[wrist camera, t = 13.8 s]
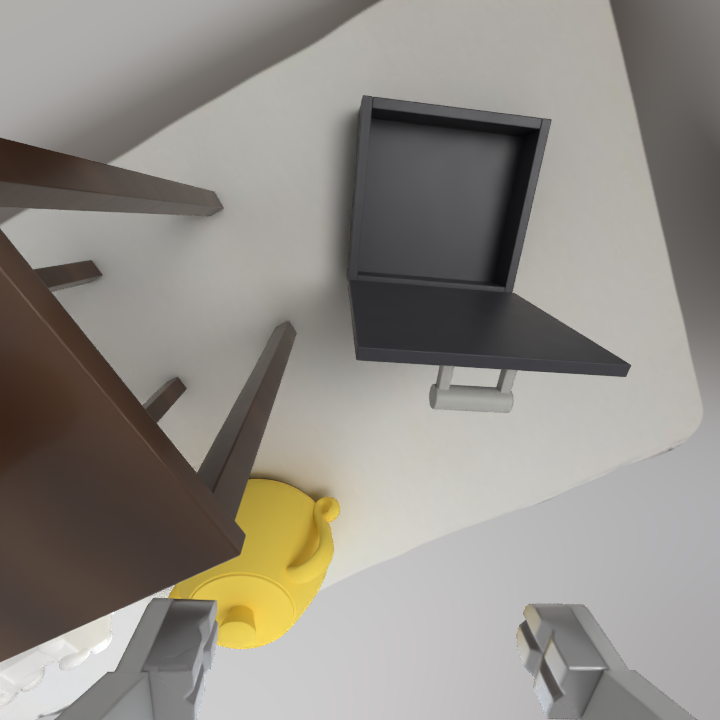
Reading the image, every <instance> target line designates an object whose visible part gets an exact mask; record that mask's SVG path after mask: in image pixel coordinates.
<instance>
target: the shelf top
mask: <svg viewBox="0 0 720 720" xmlns="http://www.w3.org/2000/svg"><path fill="white" fill-rule="evenodd" d="M245 537H246V535H245V533H244V532H243V530H242V529H241V528H240V527H239V525H238V524H237V523H236V522H235V520H234V519H233V518H232V517H231V515H230V514H229V513H228V512H227V510H226V509H225V508H224V507H223V505H222V504H221V503H220V502H219V500H218V499H217V498H216V497H215V495H214V494H213V493H212V492H211V490H210V489H209V488H208V487H207V485H206V484H205V483H204V482H203V481H202V479H201V478H200V477H199V476H198V474H197V473H196V472H195V471H194V469H193V468H192V467H191V466H190V464H189V463H188V462H187V461H186V459H185V458H184V457H183V456H182V454H181V453H180V452H179V451H178V449H177V448H176V447H175V446H174V444H173V443H172V442H171V441H170V439H169V438H168V437H167V436H166V434H165V433H164V432H163V431H162V429H161V428H160V427H159V426H158V424H157V423H156V422H155V421H154V420H153V418H152V417H151V416H150V415H149V413H148V412H147V411H146V410H145V408H144V407H143V406H142V405H141V403H140V402H139V401H138V400H137V398H136V397H135V396H134V395H133V393H132V392H131V391H130V390H129V388H128V387H127V386H126V385H125V383H124V382H123V381H122V380H121V378H120V377H119V376H118V375H117V373H116V372H115V371H114V370H113V368H112V367H111V366H110V365H109V363H108V362H107V361H106V360H105V359H104V357H103V356H102V355H101V354H100V352H99V351H98V350H97V349H96V347H95V346H94V345H93V344H92V342H91V341H90V340H89V339H88V337H87V336H86V335H85V334H84V332H83V331H82V330H81V329H80V327H79V326H78V325H77V324H76V322H75V321H74V320H73V319H72V317H71V316H70V315H69V314H68V312H67V311H66V310H65V309H64V307H63V306H62V305H61V304H60V302H59V301H58V300H57V299H56V298H55V296H54V295H53V294H52V293H51V291H50V290H49V289H48V288H47V286H46V285H45V284H44V283H43V281H42V280H41V279H40V278H39V276H38V275H37V274H36V273H35V271H34V270H33V269H32V268H31V266H30V265H29V264H28V263H27V261H26V260H25V259H24V258H23V256H22V255H21V254H20V253H19V251H18V250H17V249H16V248H15V246H14V245H13V244H12V243H11V241H10V240H9V239H8V238H7V236H6V235H5V234H4V233H3V232H2V230H1V229H0V662H2V661H5V660H7V659H9V658H11V657H14V656H16V655H18V654H20V653H23V652H25V651H27V650H29V649H32V648H34V647H36V646H38V645H41V644H43V643H45V642H47V641H50V640H52V639H54V638H56V637H59V636H61V635H63V634H65V633H68V632H70V631H72V630H74V629H77V628H79V627H81V626H83V625H86V624H88V623H90V622H92V621H94V620H97V619H99V618H101V617H103V616H106V615H108V614H110V613H112V612H115V611H117V610H119V609H121V608H124V607H126V606H128V605H130V604H133V603H135V602H137V601H139V600H142V599H144V598H146V597H148V596H151V595H153V594H155V593H157V592H160V591H162V590H164V589H166V588H169V587H171V586H173V585H175V584H178V583H180V582H182V581H184V580H186V579H189V578H191V577H193V576H195V575H198V574H200V573H202V572H204V571H207V570H209V569H211V568H213V567H216V566H218V565H220V564H222V563H225V562H227V561H229V560H231V559H234V558H236V557H238V556H240V554H241V551H242V548H243V544H244V541H245Z"/></svg>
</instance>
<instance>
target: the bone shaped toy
mask: <svg viewBox="0 0 720 720" xmlns="http://www.w3.org/2000/svg"><path fill="white" fill-rule="evenodd" d="M113 614H114V612H112V613H110V614H108V615H106V616H103V617H101V618H99V619H97V620H94V621H92V622H90V623H88V624H86V625H83V626H81V627H79V628H77V629H74V630H72V631H70V632H68V633H65V634H63V635H61V636H59V637H56V638H54V639H52V640H50V641H47V642H45V643H43V644H41V645H38V646H36V647H34V648H32V649H29V650H27V651H25V652H23V653H20V654H18V655H16V656H14V657H11V658H9V659H7V660H5V661H2V662H0V708H2V707H4V706H6V705H7V704H9V703H10V702H11V701H12V700H13V699H14V698H15V697H16V696H17V694H18V692H19V691H20V690H21V691H24V692H26V691H30V690H32V689H34V688H35V687H37V686H38V685H39V684H40V682H41V681H42V679H43V677H44V673H45V670H44V667H45V666H47V665H49V664H50V663H52V662H54V661H58V662H59V663H60V664H59V667H60V669H61V670H70V669H72V668H75V667H76V666H78V665H79V664H81V663H82V662H83V661H84V660H85V659H86V658H87V657H88V655H89V652H90V653H92V654H95V653H98V652H101V651H102V650H104V649H105V648H106V647H107V646H108V645H109V643H110V641H111V638H112V631H111V624H112V615H113Z"/></svg>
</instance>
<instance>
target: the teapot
mask: <svg viewBox="0 0 720 720" xmlns="http://www.w3.org/2000/svg"><path fill="white" fill-rule="evenodd" d="M339 512H340V506H339V503H338V501H337V500H336V499H335V498H333V497H323V498H321V499H319V500H318V501H317V502H316V503H315V502H314V501H313V500H312V499H311V498H310V497H309V496H307V495H306V494H305V493H303V492H302V491H300V490H298V489H297V488H295V487H292V486H290V485H288V484H285V483H282V482H279V481H274V480H267V479H248V482H247V486H246V489H245V492H244V495H243V498H242V501H241V504H240V507H239V510H238V513H237V516H236V519H235V522H236V523H237V524H238V525H239V527H240V528H241V529H242V530H243V532H244V533H245V535H246V537H245V541H244V544H243V548H242V551H241V554H240V556H238V557H236V558H234V559H231V560H229V561H227V562H225V563H222V564H220V565H218V566H216V567H213V568H211V569H209V570H207V571H204V572H202V573H200V574H198V575H195V576H193V577H191V578H189V579H186V580H184V581H182V582H180V583H178V584H176V585H175V587H174V588H173V590H172V591H171V593H170V595H169V597H168V598H175V599H198V600H217V606H218V611H217V614H216V618H215V620H216V621H217V622H218V638H217V645H220V646H223V647H228V648H234V649H249V648H255V647H260V646H263V645H266V644H268V643H271V642H273V641H275V640H276V639H278V638H280V637H281V636H282V635H284V634H285V633H286V632H287V631H288V630H289V629H290V628H291V627H292V626H293V625H294V624H295V622H296V621H297V620H298V619H299V618H300V616H301V615H302V614H303V612H304V611H305V610H306V608H307V607H308V606H309V605H310V603H311V602H312V600H313V599H314V597H315V596H316V594H317V592H318V590H319V588H320V586H321V584H322V582H323V580H324V577H325V574H326V571H327V568H328V565H329V564H330V562H331V560H332V557H333V552H334V544H333V539H332V534H331V529H330V526H329V523H328V522H331V521H333V520H335V519H336V518H337V517H338V515H339Z"/></svg>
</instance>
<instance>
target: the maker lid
mask: <svg viewBox="0 0 720 720" xmlns="http://www.w3.org/2000/svg"><path fill="white" fill-rule="evenodd" d="M348 292H349V301H350V310H351V318H352V327H353V336H354V344H355V353H356V360H361V361H377V362H394V363H410V364H426V365H440V367H439V372H438V377H437V382H436V384H433V385H432V386H431V389H430V395H429V400H430V406H431V408H432V409H441V410H460V411H480V412H499V413H508V412H510V411H511V409H512V407H513V394H512V391H511V389H512V386H513V382H514V379H515V376H516V372H517V370H522V371H538V372H555V373H571V374H587V375H603V376H619V377H626V376H627V373H628V371H629V369H630V367H631V365H630V364H629V363H627V362H625V361H624V360H622V359H621V358H619V357H617V356H616V355H614V354H612V353H611V352H609V351H608V350H606V349H604V348H603V347H601V346H599V345H598V344H596V343H595V342H593V341H591V340H590V339H588V338H586V337H585V336H583V335H582V334H580V333H578V332H577V331H575V330H573V329H572V328H570V327H569V326H567V325H565V324H564V323H562V322H560V321H559V320H557V319H556V318H554V317H552V316H551V315H549V314H548V313H546V312H544V311H543V310H541V309H539V308H538V307H536V306H535V305H533V304H531V303H530V302H528V301H526V300H525V299H523V298H522V297H520V296H518V295H517V294H515V293H506V292H494V291H482V290H469V289H457V288H445V287H433V286H420V285H408V284H396V283H384V282H372V281H359V280H349V281H348ZM454 366H458V367H474V368H490V369H502V370H501V373H500V377H499V380H498V384H497V387H479V386H461V385H450V382H451V378H452V373H453V369H454Z"/></svg>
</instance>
